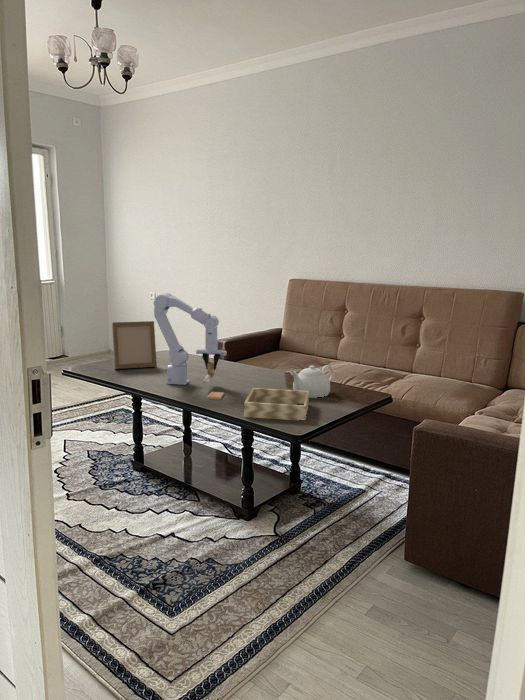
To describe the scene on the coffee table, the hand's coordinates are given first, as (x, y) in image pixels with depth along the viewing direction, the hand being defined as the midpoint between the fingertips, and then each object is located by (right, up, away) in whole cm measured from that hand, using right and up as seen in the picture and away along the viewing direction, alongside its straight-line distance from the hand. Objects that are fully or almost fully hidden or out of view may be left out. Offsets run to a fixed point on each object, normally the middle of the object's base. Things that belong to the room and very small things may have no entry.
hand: (211, 369), depth 261 cm
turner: (-1, -4, -4) cm, 6 cm away
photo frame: (-46, 0, +37) cm, 59 cm away
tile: (+4, -11, -14) cm, 18 cm away
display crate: (+31, -16, -36) cm, 50 cm away
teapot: (+48, -11, -9) cm, 50 cm away
